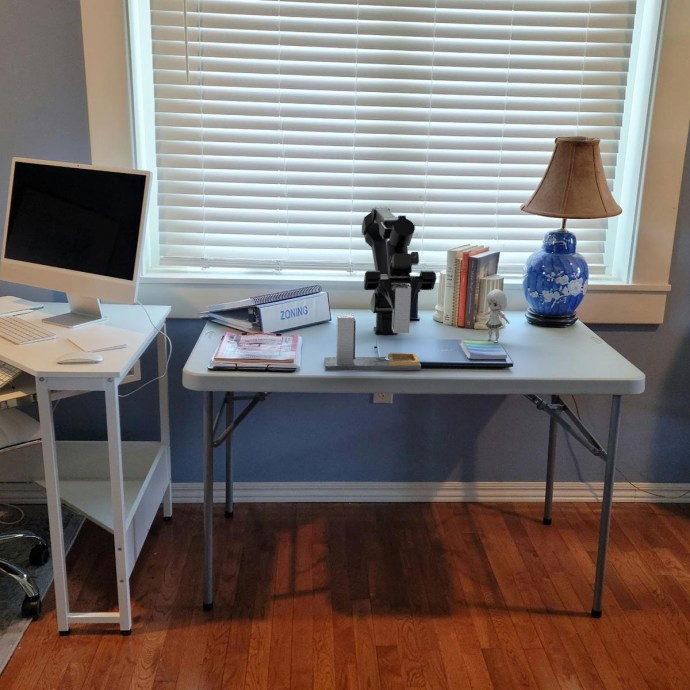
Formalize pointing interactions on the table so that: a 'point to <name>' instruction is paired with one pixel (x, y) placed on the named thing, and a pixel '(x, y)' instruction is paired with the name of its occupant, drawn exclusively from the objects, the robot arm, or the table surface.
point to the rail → (350, 362)
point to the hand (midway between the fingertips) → (401, 307)
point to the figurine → (495, 311)
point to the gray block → (401, 308)
